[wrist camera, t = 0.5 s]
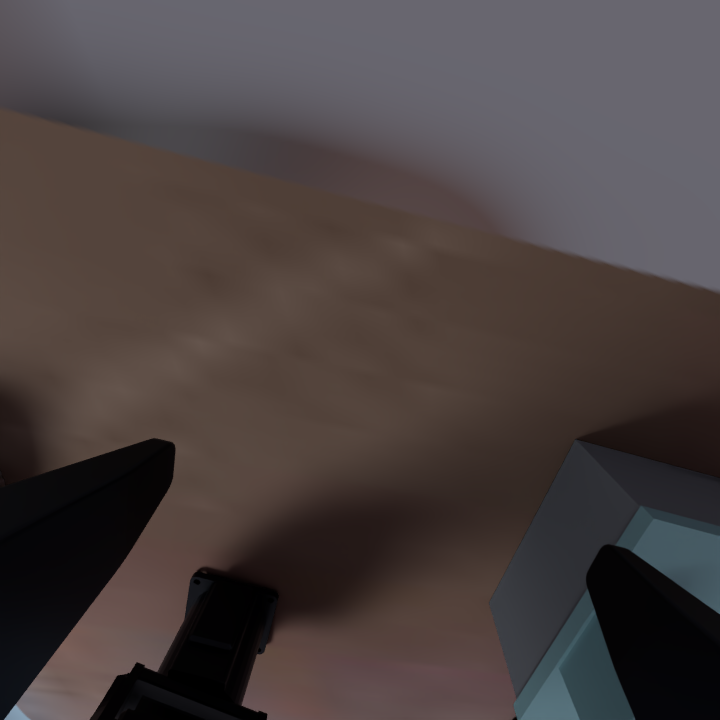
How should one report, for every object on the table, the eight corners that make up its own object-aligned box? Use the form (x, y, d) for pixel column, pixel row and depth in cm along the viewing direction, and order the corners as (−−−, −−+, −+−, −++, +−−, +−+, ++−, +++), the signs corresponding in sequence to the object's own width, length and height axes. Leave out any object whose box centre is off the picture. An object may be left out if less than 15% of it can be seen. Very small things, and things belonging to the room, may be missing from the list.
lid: (710, 742, 22) (799, 879, 17) (509, 692, 21) (545, 818, 17) (884, 563, 17) (1072, 685, 12) (632, 496, 17) (728, 596, 12)
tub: (646, 643, 27) (717, 753, 21) (489, 602, 26) (518, 703, 21) (763, 489, 22) (894, 576, 16) (575, 439, 22) (642, 510, 16)
